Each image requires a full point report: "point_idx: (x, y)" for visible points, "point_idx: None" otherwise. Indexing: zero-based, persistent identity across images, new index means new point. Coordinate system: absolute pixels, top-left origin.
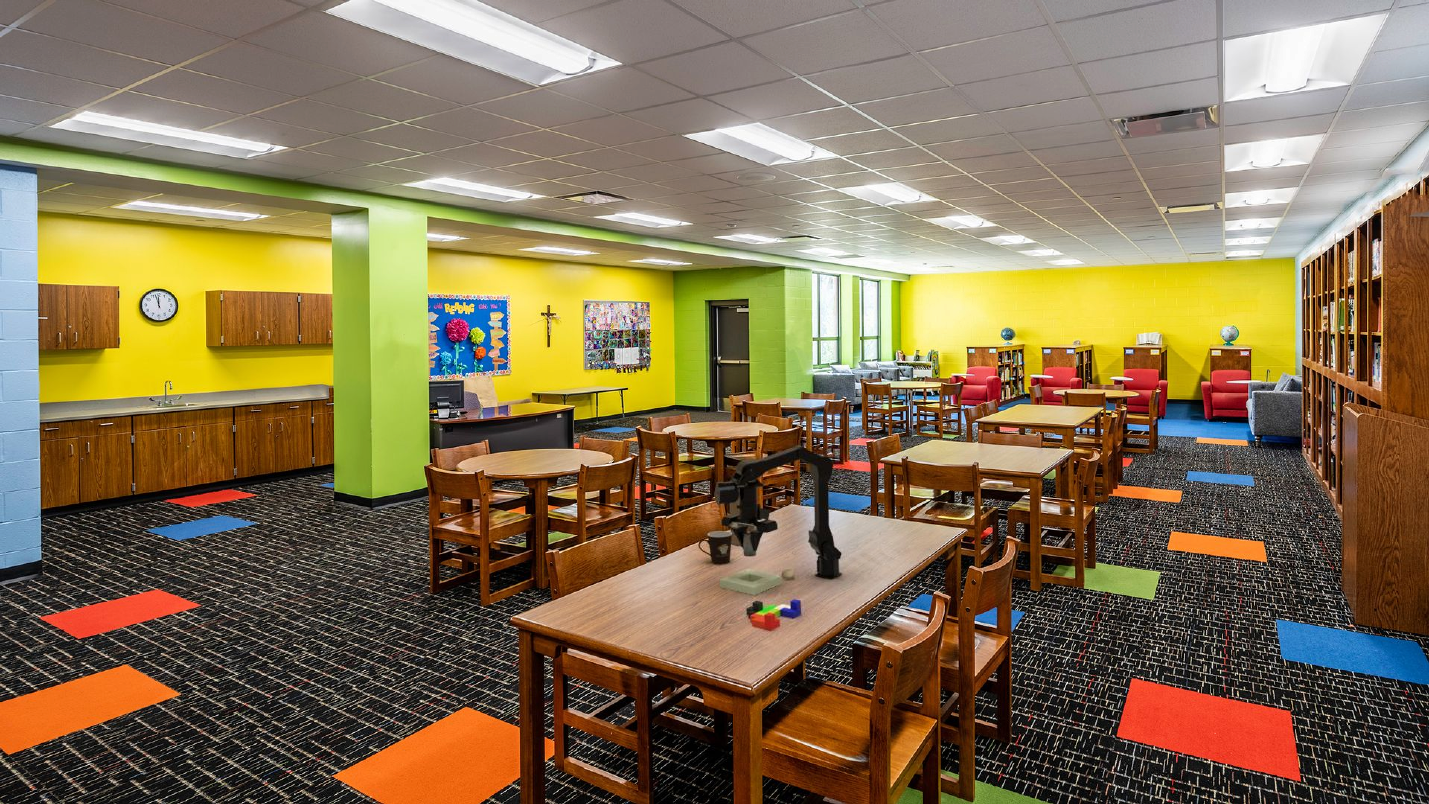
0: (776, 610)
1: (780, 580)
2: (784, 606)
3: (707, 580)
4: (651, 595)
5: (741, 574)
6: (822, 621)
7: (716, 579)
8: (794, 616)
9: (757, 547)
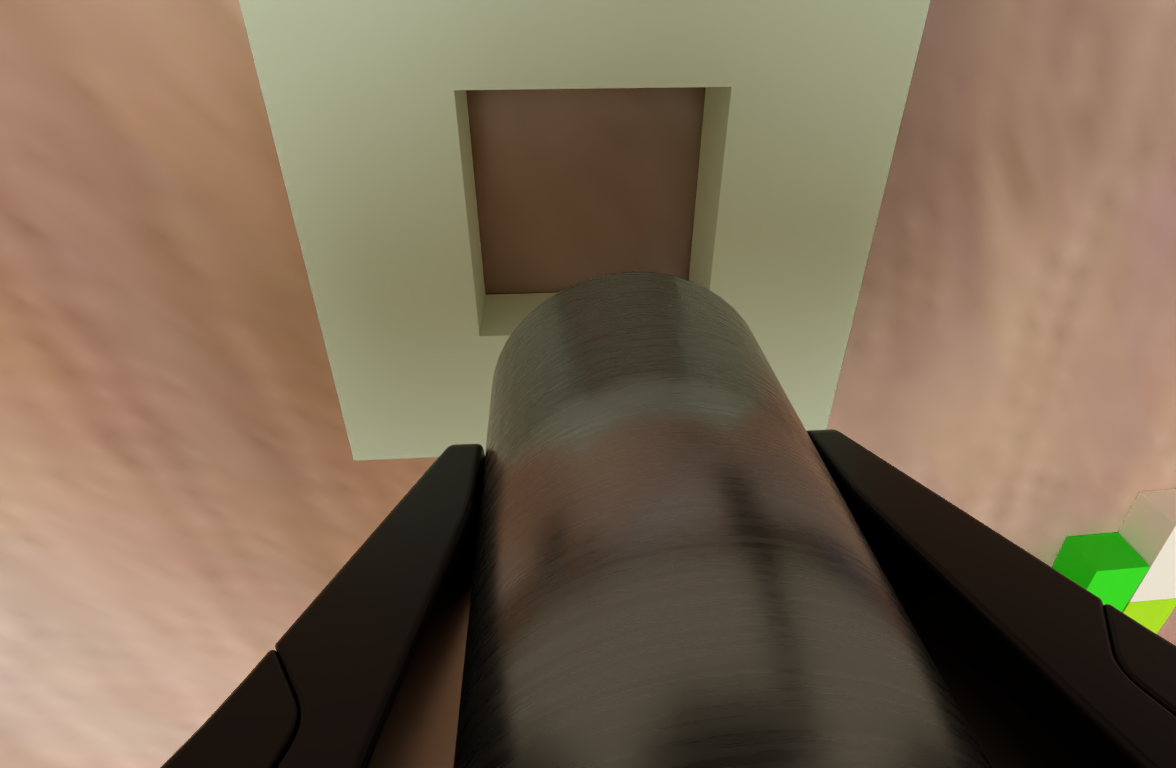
0: (1159, 616)
1: None
2: None
3: (68, 332)
4: (176, 740)
5: (384, 178)
6: None
7: (94, 249)
8: None
9: (894, 479)
